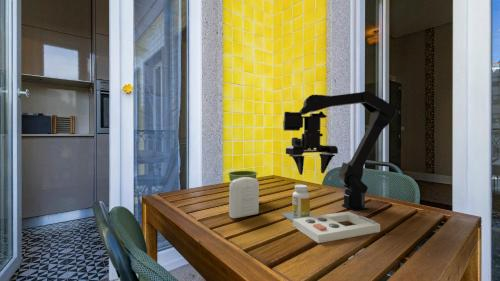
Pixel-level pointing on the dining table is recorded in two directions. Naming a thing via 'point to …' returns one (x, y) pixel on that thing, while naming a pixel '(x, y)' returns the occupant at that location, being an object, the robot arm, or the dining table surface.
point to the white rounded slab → (243, 197)
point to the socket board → (335, 226)
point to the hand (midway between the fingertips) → (311, 173)
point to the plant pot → (242, 174)
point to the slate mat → (291, 216)
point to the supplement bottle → (301, 202)
